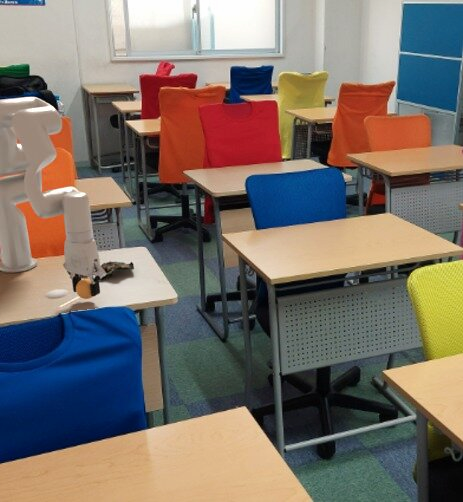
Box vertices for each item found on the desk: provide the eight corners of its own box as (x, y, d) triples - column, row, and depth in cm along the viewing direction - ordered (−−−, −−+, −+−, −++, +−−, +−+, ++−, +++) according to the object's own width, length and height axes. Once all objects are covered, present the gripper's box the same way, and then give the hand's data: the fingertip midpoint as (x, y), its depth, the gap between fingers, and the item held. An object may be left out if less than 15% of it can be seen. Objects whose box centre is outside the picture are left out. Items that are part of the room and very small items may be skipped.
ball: (72, 299, 182) (70, 281, 180) (87, 292, 187) (84, 274, 185) (88, 303, 179) (85, 284, 177) (102, 296, 184) (99, 277, 182)
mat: (30, 301, 187) (30, 299, 186) (68, 282, 199) (68, 281, 199) (79, 314, 177) (78, 312, 177) (115, 294, 190) (115, 292, 189)
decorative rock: (77, 276, 194) (71, 258, 207) (80, 293, 197) (75, 274, 210) (136, 263, 200) (127, 246, 213) (139, 280, 202) (129, 262, 215)
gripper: (48, 235, 178) (56, 292, 184) (93, 243, 169) (100, 303, 175) (67, 227, 184) (74, 283, 190) (111, 235, 175) (117, 293, 181)
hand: (86, 292), depth 183 cm, fingers open, 6 cm apart
